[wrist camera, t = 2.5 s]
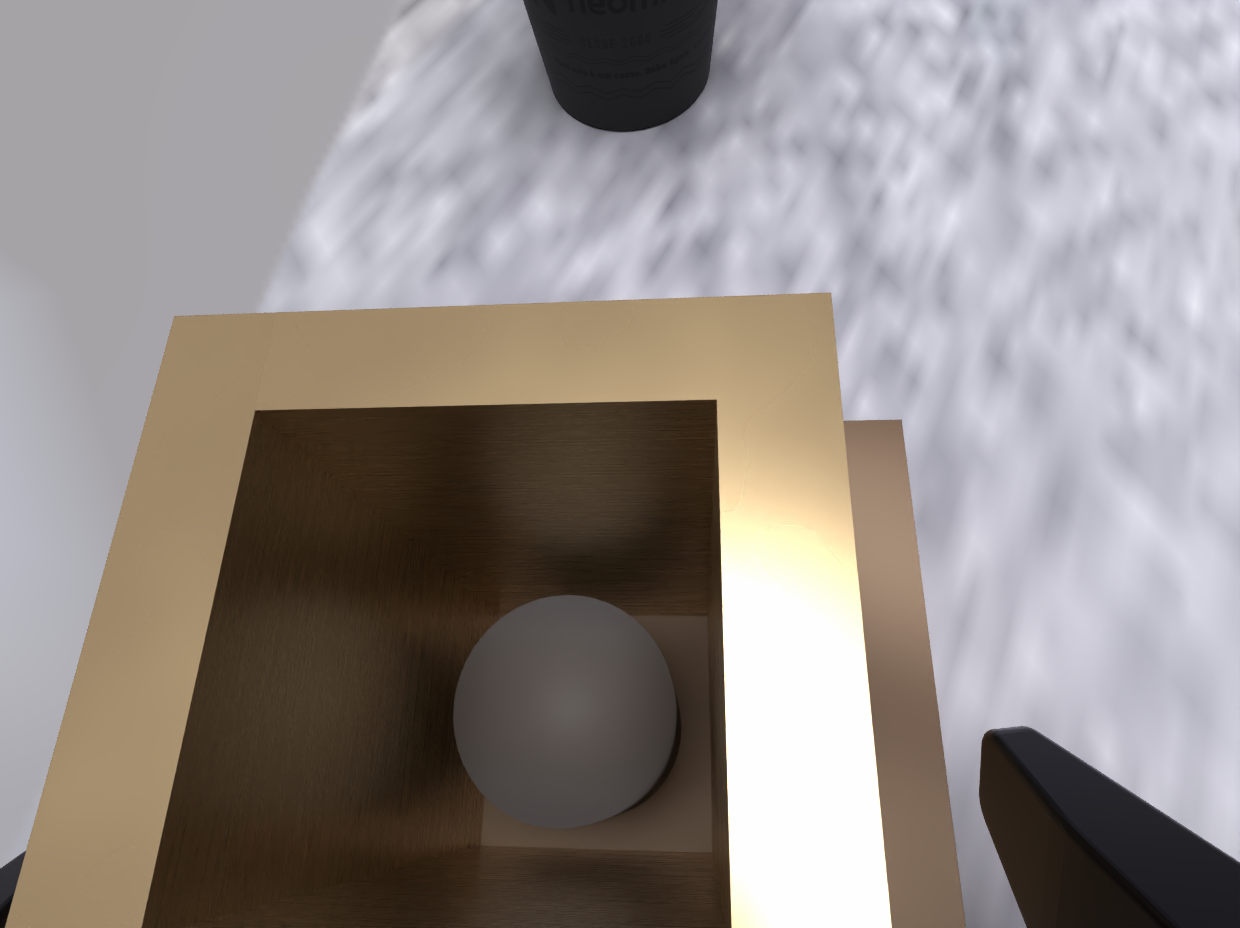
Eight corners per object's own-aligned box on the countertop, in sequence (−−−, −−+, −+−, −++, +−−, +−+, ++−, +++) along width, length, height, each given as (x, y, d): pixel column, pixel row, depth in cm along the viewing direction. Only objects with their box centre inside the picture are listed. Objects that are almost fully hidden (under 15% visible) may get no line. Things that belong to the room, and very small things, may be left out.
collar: (775, 922, 13) (915, 1182, 4) (418, 909, 13) (-47, 1111, 5) (758, 564, 15) (830, 293, 7) (453, 565, 16) (174, 316, 7)
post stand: (946, 1103, 14) (1139, 1353, 8) (289, 1064, 15) (10, 1254, 9) (875, 466, 18) (962, 309, 12) (377, 473, 19) (231, 333, 13)
